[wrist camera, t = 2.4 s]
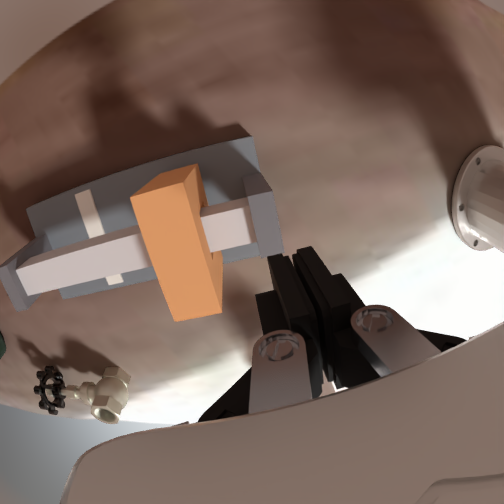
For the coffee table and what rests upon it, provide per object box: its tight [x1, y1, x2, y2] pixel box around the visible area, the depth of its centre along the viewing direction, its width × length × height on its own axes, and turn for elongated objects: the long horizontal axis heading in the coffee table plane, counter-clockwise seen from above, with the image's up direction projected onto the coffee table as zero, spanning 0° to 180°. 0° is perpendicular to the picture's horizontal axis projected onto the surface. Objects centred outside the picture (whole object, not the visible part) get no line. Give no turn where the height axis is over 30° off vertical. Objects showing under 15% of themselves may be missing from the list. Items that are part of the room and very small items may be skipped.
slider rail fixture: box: [0, 136, 285, 312], centre depth 23 cm, size 22×10×8 cm, turn 102°
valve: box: [34, 366, 131, 424], centre depth 31 cm, size 7×7×12 cm
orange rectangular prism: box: [130, 163, 223, 322], centre depth 21 cm, size 3×8×8 cm, turn 12°
